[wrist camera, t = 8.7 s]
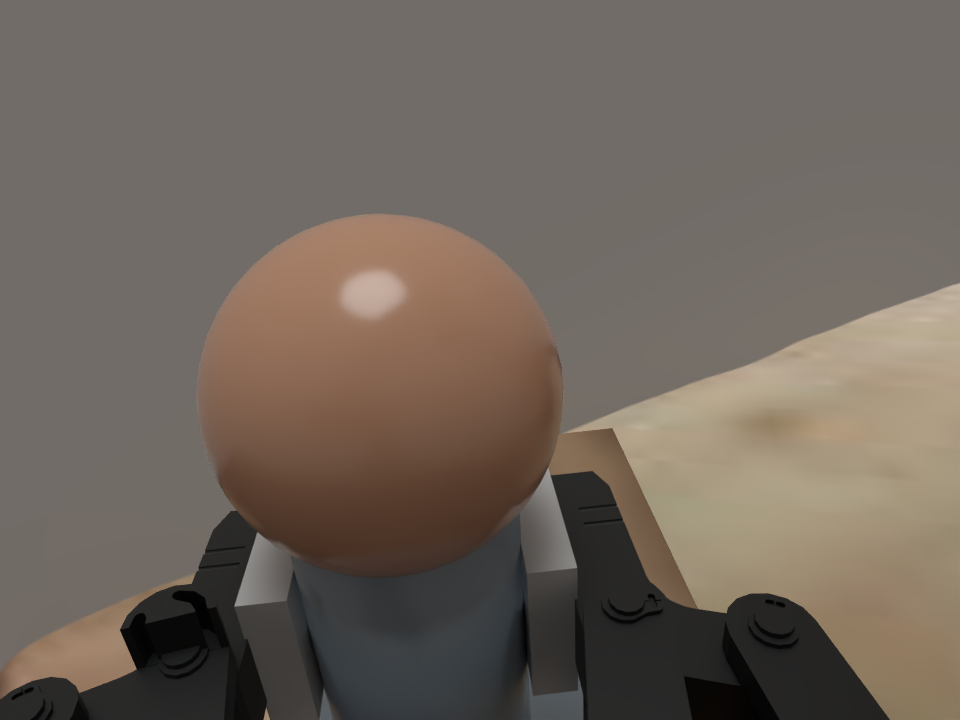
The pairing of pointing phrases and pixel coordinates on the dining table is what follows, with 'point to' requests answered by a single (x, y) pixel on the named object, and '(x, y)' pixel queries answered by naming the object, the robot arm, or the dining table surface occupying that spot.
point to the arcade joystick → (392, 458)
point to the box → (624, 503)
